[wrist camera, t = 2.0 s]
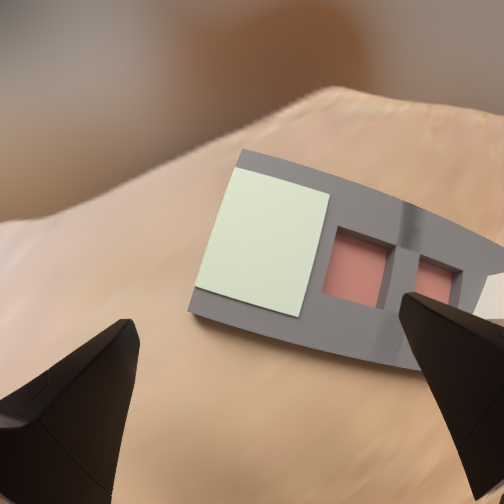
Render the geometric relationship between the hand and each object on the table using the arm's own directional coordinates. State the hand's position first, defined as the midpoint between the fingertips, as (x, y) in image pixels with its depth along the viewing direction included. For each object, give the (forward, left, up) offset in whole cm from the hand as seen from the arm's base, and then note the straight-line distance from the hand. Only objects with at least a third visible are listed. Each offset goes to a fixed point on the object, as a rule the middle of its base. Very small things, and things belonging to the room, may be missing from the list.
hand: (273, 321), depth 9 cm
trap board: (-5, -11, -15) cm, 19 cm away
